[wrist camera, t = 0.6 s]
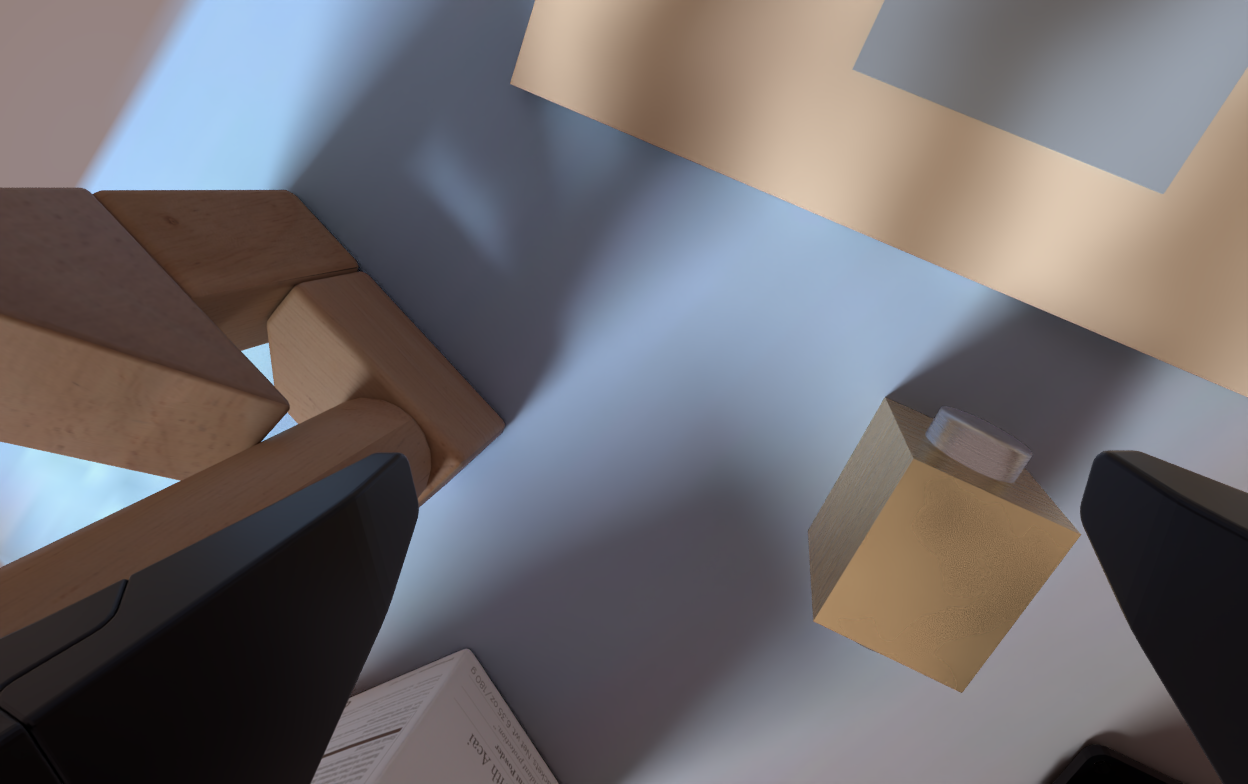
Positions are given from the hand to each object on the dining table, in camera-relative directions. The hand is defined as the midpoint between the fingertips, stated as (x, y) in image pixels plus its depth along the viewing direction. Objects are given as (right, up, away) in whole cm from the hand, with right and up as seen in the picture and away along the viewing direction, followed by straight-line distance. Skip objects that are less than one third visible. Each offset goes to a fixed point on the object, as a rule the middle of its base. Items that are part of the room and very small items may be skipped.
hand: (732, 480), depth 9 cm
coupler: (+7, -2, +12) cm, 14 cm away
